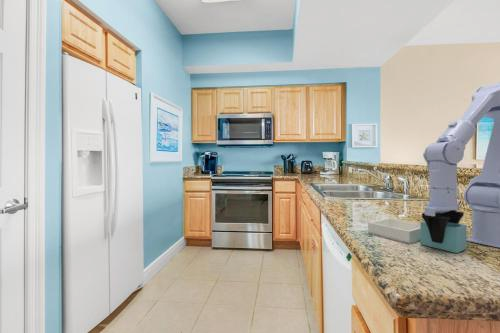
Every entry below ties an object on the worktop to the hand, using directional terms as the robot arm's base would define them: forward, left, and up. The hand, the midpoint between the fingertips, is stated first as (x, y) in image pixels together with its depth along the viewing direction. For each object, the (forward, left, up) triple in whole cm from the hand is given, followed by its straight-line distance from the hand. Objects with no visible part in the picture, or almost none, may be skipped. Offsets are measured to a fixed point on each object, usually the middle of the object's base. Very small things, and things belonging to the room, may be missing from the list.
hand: (442, 240), depth 65 cm
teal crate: (0, 0, -2) cm, 2 cm away
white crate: (-1, -12, -2) cm, 12 cm away
